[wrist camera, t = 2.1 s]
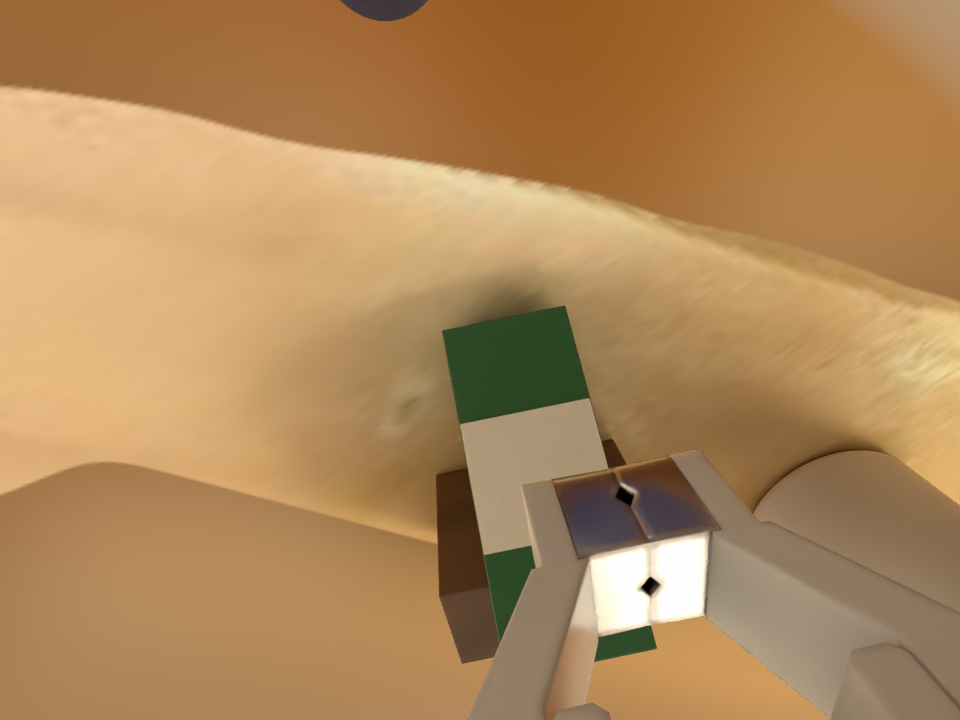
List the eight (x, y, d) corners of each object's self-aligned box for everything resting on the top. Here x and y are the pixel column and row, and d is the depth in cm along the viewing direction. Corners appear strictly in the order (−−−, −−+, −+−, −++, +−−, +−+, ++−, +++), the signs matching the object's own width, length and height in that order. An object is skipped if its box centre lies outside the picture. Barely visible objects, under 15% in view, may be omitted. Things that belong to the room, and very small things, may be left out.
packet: (441, 315, 27) (452, 479, 15) (555, 291, 27) (656, 437, 15) (482, 492, 33) (513, 705, 21) (575, 473, 33) (657, 676, 21)
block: (435, 475, 32) (438, 596, 24) (613, 438, 32) (674, 548, 24) (453, 537, 35) (461, 664, 27) (616, 504, 35) (672, 621, 27)
